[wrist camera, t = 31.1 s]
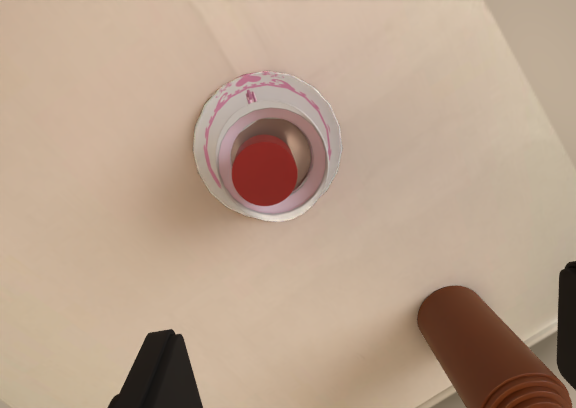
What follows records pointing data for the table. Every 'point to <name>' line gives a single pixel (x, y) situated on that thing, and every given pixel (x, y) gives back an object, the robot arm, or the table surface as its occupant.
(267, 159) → the cap
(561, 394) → the bottle
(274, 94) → the teacup
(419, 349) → the table surface
